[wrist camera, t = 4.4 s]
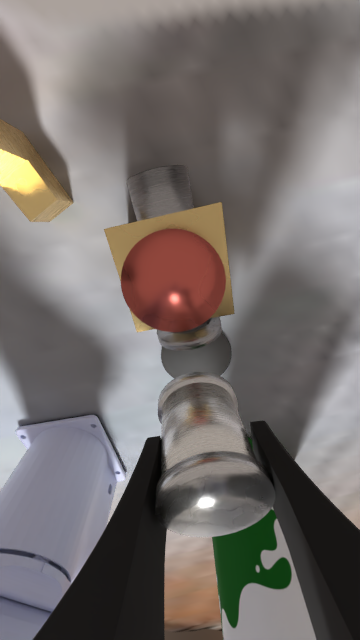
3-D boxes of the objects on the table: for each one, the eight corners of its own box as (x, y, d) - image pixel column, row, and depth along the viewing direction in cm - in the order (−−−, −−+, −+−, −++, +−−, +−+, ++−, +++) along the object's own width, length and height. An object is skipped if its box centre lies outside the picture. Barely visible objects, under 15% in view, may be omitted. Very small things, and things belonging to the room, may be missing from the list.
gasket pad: (234, 376, 19) (234, 378, 18) (169, 387, 19) (169, 389, 19) (226, 317, 16) (226, 318, 16) (153, 331, 17) (153, 332, 17)
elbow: (74, 202, 13) (34, 195, 10) (50, 221, 14) (3, 221, 10) (22, 132, 12) (-46, 92, 8) (-2, 155, 12) (-78, 128, 9)
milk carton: (244, 425, 21) (671, 1736, 3) (307, 461, 23) (774, 1325, 5) (189, 472, 24) (226, 1273, 6) (250, 500, 26) (417, 1141, 8)
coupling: (241, 417, 13) (282, 520, 9) (172, 437, 14) (177, 546, 9) (225, 361, 11) (265, 454, 7) (146, 385, 12) (136, 489, 7)
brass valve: (221, 313, 16) (248, 370, 10) (156, 326, 17) (142, 388, 10) (201, 170, 13) (223, 120, 6) (118, 190, 13) (63, 162, 7)
